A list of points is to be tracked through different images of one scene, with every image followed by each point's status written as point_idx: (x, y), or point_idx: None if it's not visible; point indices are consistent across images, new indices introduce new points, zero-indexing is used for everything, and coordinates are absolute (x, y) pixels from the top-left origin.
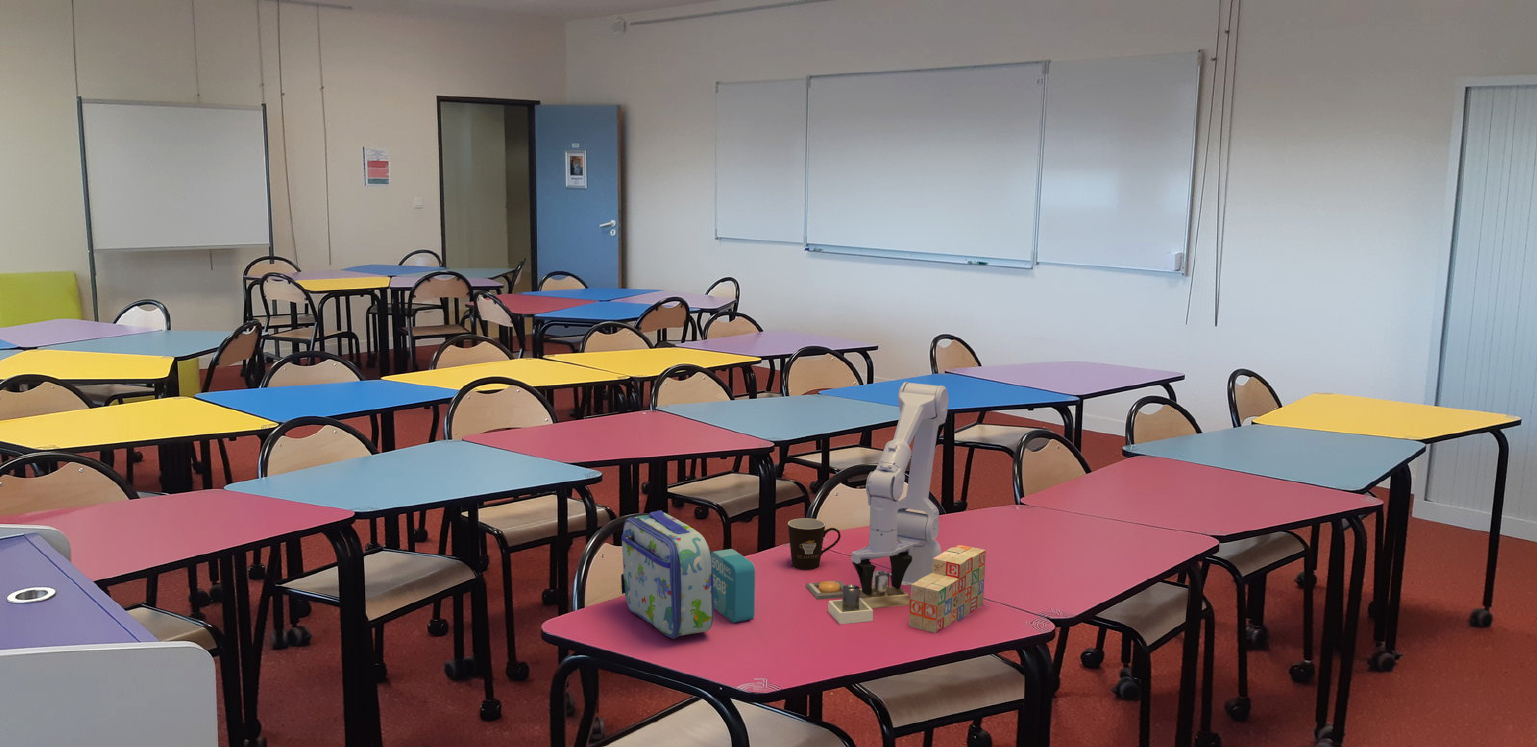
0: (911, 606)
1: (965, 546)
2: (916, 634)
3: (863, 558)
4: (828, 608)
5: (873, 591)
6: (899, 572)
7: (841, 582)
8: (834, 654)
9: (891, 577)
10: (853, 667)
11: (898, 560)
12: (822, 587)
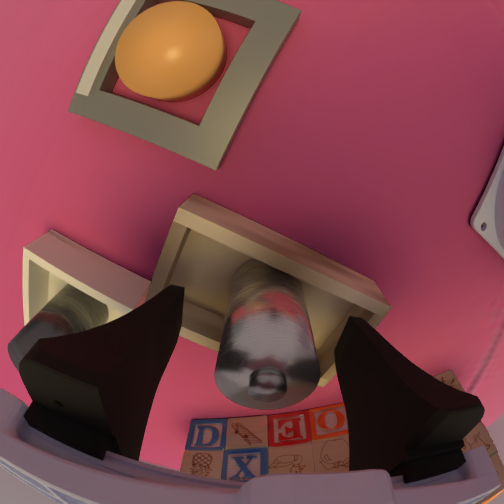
0: (183, 468)
1: (497, 494)
2: (182, 435)
3: (67, 457)
4: (41, 236)
5: (227, 305)
6: (351, 414)
7: (284, 27)
8: (12, 370)
9: (365, 335)
10: (29, 404)
11: (372, 459)
12: (116, 59)
